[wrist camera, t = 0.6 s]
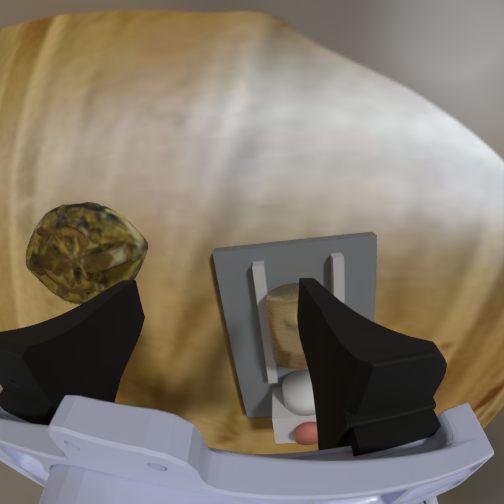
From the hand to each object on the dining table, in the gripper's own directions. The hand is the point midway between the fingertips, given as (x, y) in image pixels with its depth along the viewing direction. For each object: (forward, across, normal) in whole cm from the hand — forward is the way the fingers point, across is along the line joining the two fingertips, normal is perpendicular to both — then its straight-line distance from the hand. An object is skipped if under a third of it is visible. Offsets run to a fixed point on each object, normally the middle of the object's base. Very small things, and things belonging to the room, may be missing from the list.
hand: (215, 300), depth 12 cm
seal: (+11, +14, +2) cm, 18 cm away
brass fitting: (+8, -5, +6) cm, 11 cm away
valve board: (+9, -6, +10) cm, 14 cm away
